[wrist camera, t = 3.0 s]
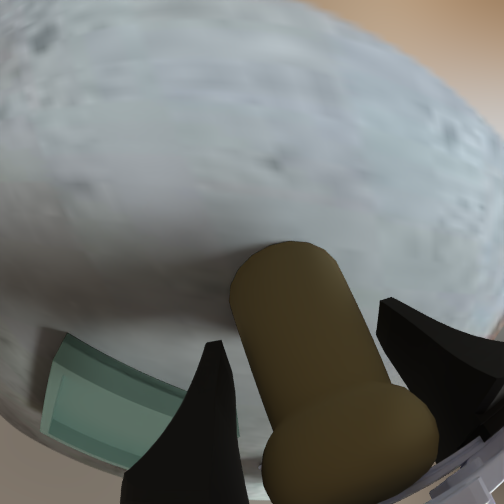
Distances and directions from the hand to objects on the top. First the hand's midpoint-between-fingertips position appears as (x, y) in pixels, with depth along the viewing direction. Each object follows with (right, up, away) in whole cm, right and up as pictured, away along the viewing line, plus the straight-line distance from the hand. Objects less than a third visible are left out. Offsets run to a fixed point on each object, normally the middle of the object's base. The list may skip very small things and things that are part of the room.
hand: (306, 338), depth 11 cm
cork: (0, +1, +3) cm, 4 cm away
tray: (-12, -9, +6) cm, 16 cm away
